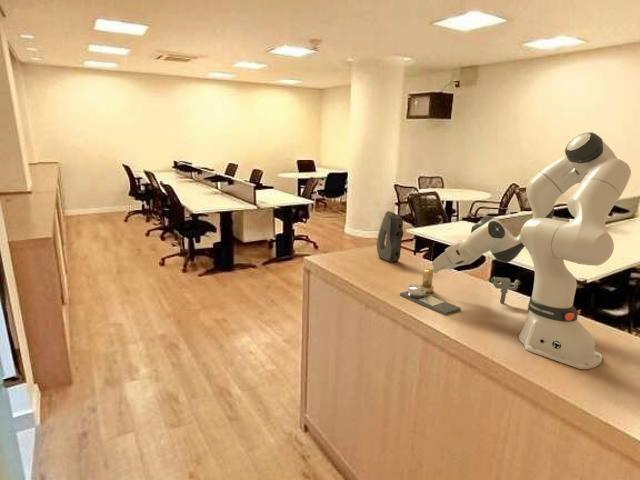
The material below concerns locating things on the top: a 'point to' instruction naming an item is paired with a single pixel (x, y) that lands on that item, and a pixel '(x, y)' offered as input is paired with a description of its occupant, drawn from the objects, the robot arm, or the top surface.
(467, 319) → the top surface
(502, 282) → the mechanical component
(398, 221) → the handheld device
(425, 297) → the carrier plate
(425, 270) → the gold pawn piece
